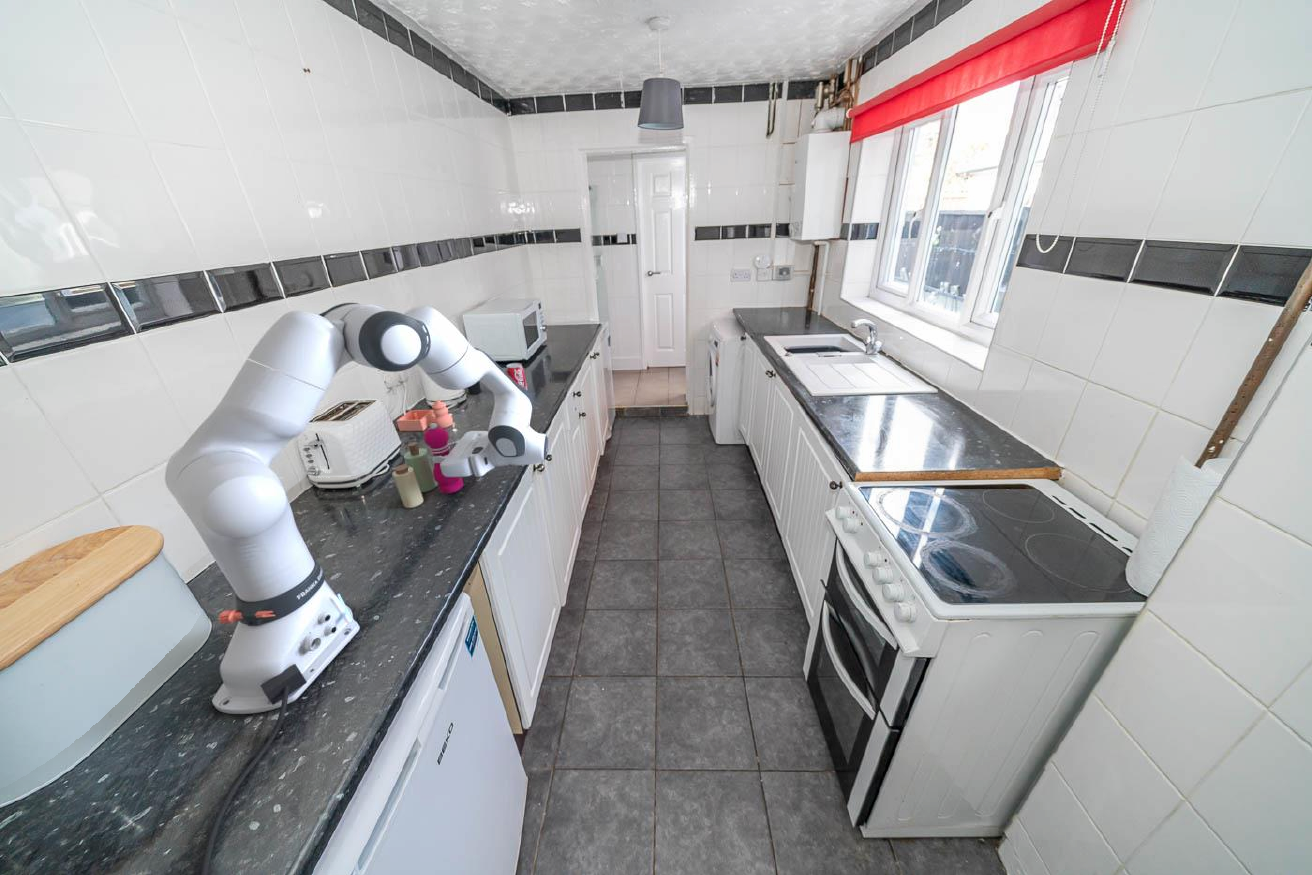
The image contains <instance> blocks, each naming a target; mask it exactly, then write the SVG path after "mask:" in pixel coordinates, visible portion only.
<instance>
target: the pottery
mask: <svg viewBox="0 0 1312 875" xmlns="http://www.w3.org/2000/svg"><path fill="white" fill-rule="evenodd" d="M431 423H435V424H436V425H437V427H441V428H444V429H445V428H448V427H450V426H451V427H452V425H453V424H454V418H453V417H452V415H451V414H450V413H449V409H448V407H447V404H446V402H445V401H441V400H440V399H436V400H434V403H432V405H431V409H411V410H409V411H408V412H406V413H405V414H404V415H402V416H401V417H399V418H398V419H397V420H396V424H397V426H398V429H399V430H398V431H399V432H421V431H425V430H426V429H427V428H429V427H430V424H431Z"/></svg>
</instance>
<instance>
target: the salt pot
mask: <svg viewBox="0 0 1312 875" xmlns="http://www.w3.org/2000/svg"><path fill="white" fill-rule="evenodd" d="M391 474H392V478H393V480H394V483H395V486H396V489H397V491H398V495H399V497H400V499H401V503H402V505H403V507H404V508H406V509H411V508H415V507H418V506H420V505H422V504H423V503H424V500H425V499H424V496H423V494H422V493H423V492H421V490H420V487H419V485H418V482H417V479H416V476H415V473H414V470H413V468H412V467H408V465H406V464H399V465H397V466H396V467H395V468H394V471H392V473H391Z"/></svg>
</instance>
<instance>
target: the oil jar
mask: <svg viewBox="0 0 1312 875" xmlns="http://www.w3.org/2000/svg"><path fill="white" fill-rule="evenodd" d="M407 448H408V451H407V452H405V453H404V455H403V459H404V462H405V465H408V467H412V468H413V470H414V473H415V476H416V479H417V482H418V485H419V487H420V490H421V493H426V492H427V493H428V492H429V491H432V490H434V489H435V488H436V487H437V486H438V483H437V482H436V481H435V480H434V476H433V470H434V467H433V465H432V461H431V458H430V456H429V452H428V450H427V449H426V448H419V444H418V442H416V441H413V442H409V443H408V444H407Z"/></svg>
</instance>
